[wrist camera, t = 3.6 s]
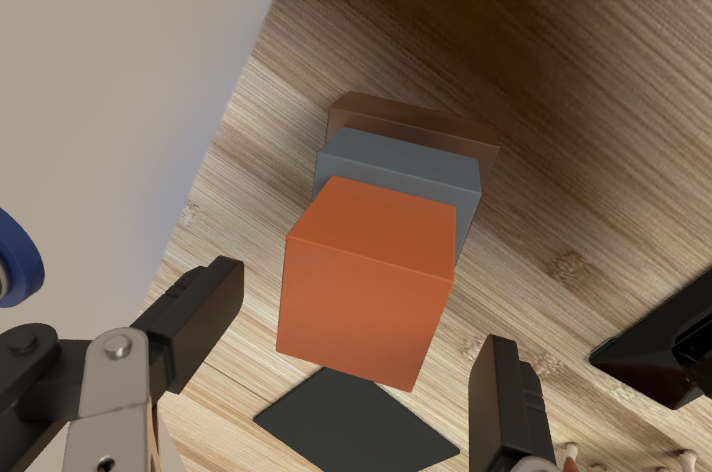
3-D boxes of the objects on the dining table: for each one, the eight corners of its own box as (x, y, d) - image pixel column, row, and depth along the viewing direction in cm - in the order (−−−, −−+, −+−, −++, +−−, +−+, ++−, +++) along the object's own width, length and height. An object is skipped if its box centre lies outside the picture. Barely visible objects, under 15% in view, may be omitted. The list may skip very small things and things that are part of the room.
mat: (254, 417, 40) (252, 421, 39) (339, 355, 32) (338, 359, 32) (359, 492, 42) (358, 496, 42) (460, 449, 35) (460, 454, 35)
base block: (330, 215, 26) (310, 246, 23) (349, 90, 22) (329, 106, 19) (450, 247, 25) (448, 284, 22) (494, 124, 21) (500, 146, 18)
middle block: (324, 239, 22) (300, 281, 19) (342, 125, 19) (316, 152, 16) (438, 270, 22) (434, 319, 18) (478, 158, 18) (482, 193, 15)
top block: (317, 272, 18) (274, 352, 14) (332, 174, 16) (285, 235, 12) (423, 302, 18) (411, 394, 14) (456, 205, 15) (454, 282, 11)
